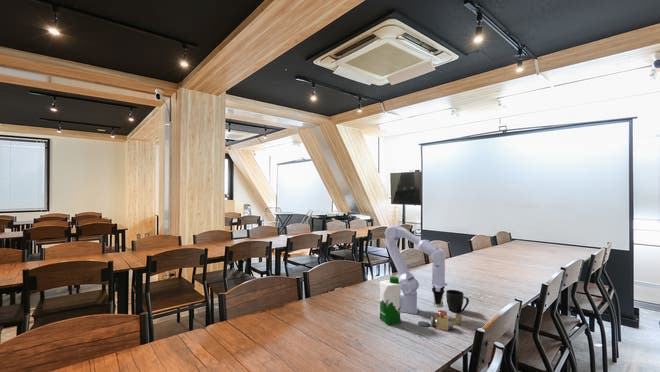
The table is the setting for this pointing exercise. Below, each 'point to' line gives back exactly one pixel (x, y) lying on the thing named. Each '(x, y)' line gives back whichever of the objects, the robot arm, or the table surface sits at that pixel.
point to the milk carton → (390, 301)
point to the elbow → (457, 320)
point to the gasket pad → (424, 324)
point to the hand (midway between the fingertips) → (438, 302)
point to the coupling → (439, 304)
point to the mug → (456, 301)
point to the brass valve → (442, 321)
